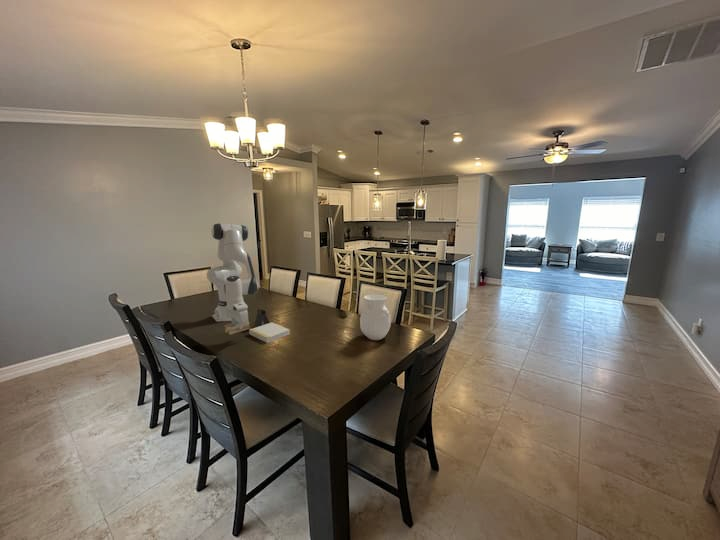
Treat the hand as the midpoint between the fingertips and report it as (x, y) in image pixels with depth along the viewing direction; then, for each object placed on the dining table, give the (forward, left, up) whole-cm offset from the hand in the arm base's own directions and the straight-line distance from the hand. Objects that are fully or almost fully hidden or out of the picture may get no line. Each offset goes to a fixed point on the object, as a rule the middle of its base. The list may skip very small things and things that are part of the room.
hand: (237, 327), depth 167 cm
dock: (+5, +17, -9) cm, 20 cm away
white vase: (+59, +55, -9) cm, 82 cm away
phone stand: (-10, +21, -9) cm, 25 cm away
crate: (0, 0, +2) cm, 2 cm away
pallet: (0, 0, -2) cm, 2 cm away
